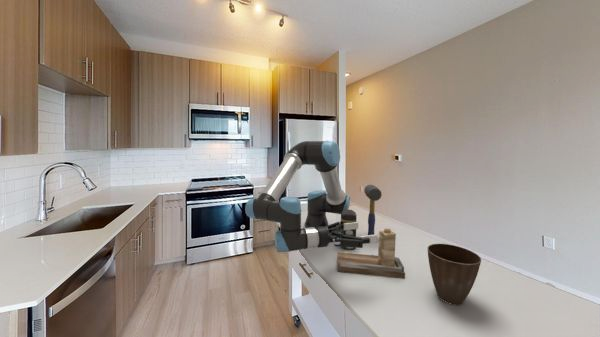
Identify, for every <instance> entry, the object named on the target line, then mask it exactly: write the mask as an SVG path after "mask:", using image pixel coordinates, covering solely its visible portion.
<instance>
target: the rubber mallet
mask: <svg viewBox="0 0 600 337" xmlns="http://www.w3.org/2000/svg"><path fill="white" fill-rule="evenodd" d="M363 191H364V195H365V196H366V197H367V198H368V199H369V212H368V218H367V228H368V230H367V235H375V234H376V233H375V226H376V225H375V224H376V215H375V206H376V205H375V203H376V202H377V201H379V200H380V199H381V198H382V190H380V189H379V188H378V187H377V186H376V185H374V184H368V185H366V186H365V187H364V190H363ZM367 235H366V236H367Z"/></svg>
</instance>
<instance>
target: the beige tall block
mask: <svg viewBox="0 0 600 337" xmlns="http://www.w3.org/2000/svg"><path fill="white" fill-rule="evenodd" d="M396 235H397V234H396V233H395V232H394V231H392V229H390V228H384V229H383V230H379V232H378V252H377V253H378V255H377V256H378V263H379V264H380V265H381V266H392V267H393V266H394V261H395V257H396V256H395V255H396Z"/></svg>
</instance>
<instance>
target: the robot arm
mask: <svg viewBox="0 0 600 337" xmlns="http://www.w3.org/2000/svg"><path fill="white" fill-rule="evenodd" d="M340 150H341V149H340V147H339V144H338V143H337V142H336V141H332V140H315V141H313V140H310V141H309V140H305V141H301V142H299V143H297V144H295V145H294V146H293V147H291V148H290V149H289V150H287V152H286V153H285V154H284V157H283V161H282V162H281V164H280V165H279V167H278V168H277V170H276V171H275V173H274V174H273V175H272V177H271V178H270V180H269V182H268V183H267V184H266V185H265V187H264V188H263V190H262V191H261V192H260V193H259V195H258V197H256V198H250V199H248V200H247V201H246V203H245V206H244V208H245V209H244V210H245V214H246V216H247V217H248V218H250V219H255V220H261V221H268V222H272V223H273V222H274V223H277V224H278V223H279V225H280V227H279V230H276V231H275V232H274V237H273V238H274V247H275V251H277V253H285V252H286V253H290V252H294V251H295V252H296V251H300V250H311V249H317V248H318V249H320V248H326V247H328V246H329V245H330V243H333V245H334V247H337V248H338V247H341V246H344V247H356V248H359V249H362V248H363V247H364V245H367V244H371V243H372V244H373V243H377V241H378V240H377V239H378V236H377V234H376V233H374V234H375V235H360V236H359V237H357V236H356V237H353V236H347V235H343V233H341V230H352V229H356V230H358V229H359V221H358V222H357V221H356V222H354V223H344V224H343V222H342V221H341V220H340V221H337V222H334V223H331V224H329V221H328V218H327V213H328V214H336V215H341V212H342V211H344V210H350V203H351V196H350V195H349V194H346V192H345V190H343V189H342V186H341V185H342V184H341V182H340V178H339V175H338V170H337V167H338V165H340V164H339V163H340V161H341V152H340ZM304 165H310V166H314V168H315V170H316V171H318V172H319V173H320V176H321V179H322V181H323V182H322V183H323V185H324V189H325V190H321V189H320V190H313V191H309V192H308V194H307V199H306V200H307V214H306V218H305V221H304V228H302V206H301V199H300V198H298V197H295V196H283V197H282V195H283V193H284V192H285V190H286V188H287V187H288V185H289V183H290V182H291V180H292V178H293V177H294V175H295V174H296V172H297V171H298V170H300V169H301V168H302V166H304ZM356 248H355V249H356Z"/></svg>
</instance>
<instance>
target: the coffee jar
mask: <svg viewBox="0 0 600 337" xmlns="http://www.w3.org/2000/svg"><path fill="white" fill-rule="evenodd" d="M341 221H342V222H343V224H344V223H354V222H357V213H356V211H354V210H352V209H349V210H344V211H342V212H341V214H340V222H341ZM340 233H343V235H347V236H353V237H357V229H352V230H341V231H340ZM340 247H341V248H342V249H345V250H355V249H356V247H344V246H340Z"/></svg>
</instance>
